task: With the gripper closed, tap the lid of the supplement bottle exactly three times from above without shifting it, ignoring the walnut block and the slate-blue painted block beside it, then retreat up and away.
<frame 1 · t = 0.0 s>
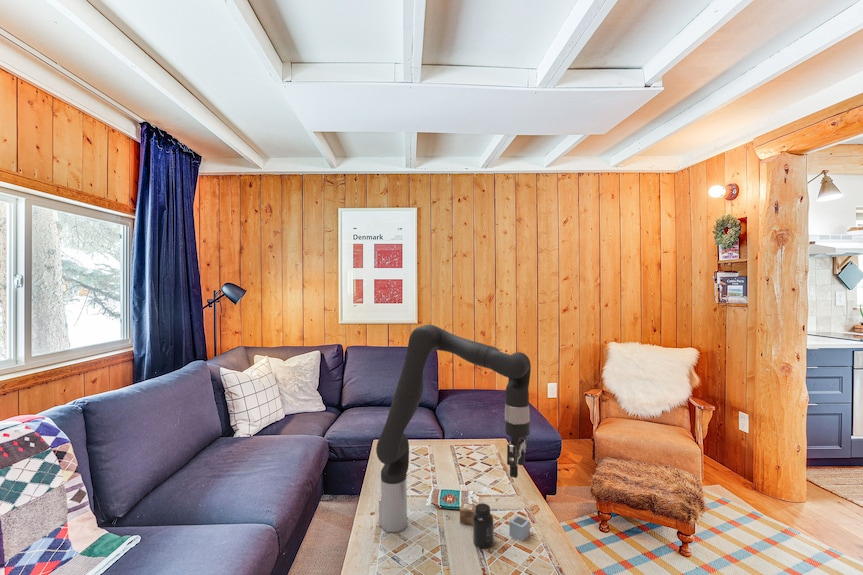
hand: (517, 470, 123), 29 cm above the table, fingers open, 8 cm apart
slate-blue block: (519, 535, 137), on the table
walnut block: (468, 520, 146), on the table
supplement bottle: (483, 542, 134), on the table
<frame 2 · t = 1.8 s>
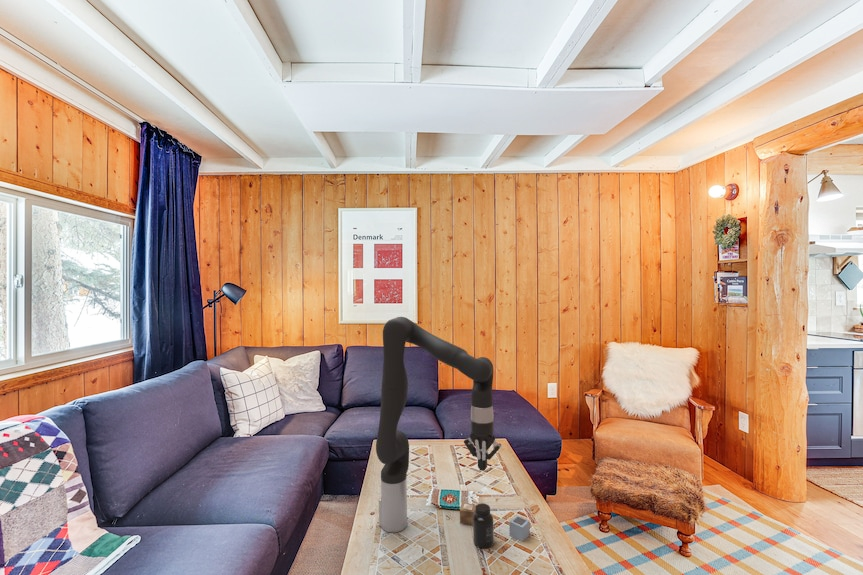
hand: (482, 469, 133), 25 cm above the table, fingers closed
nothing on the table moved.
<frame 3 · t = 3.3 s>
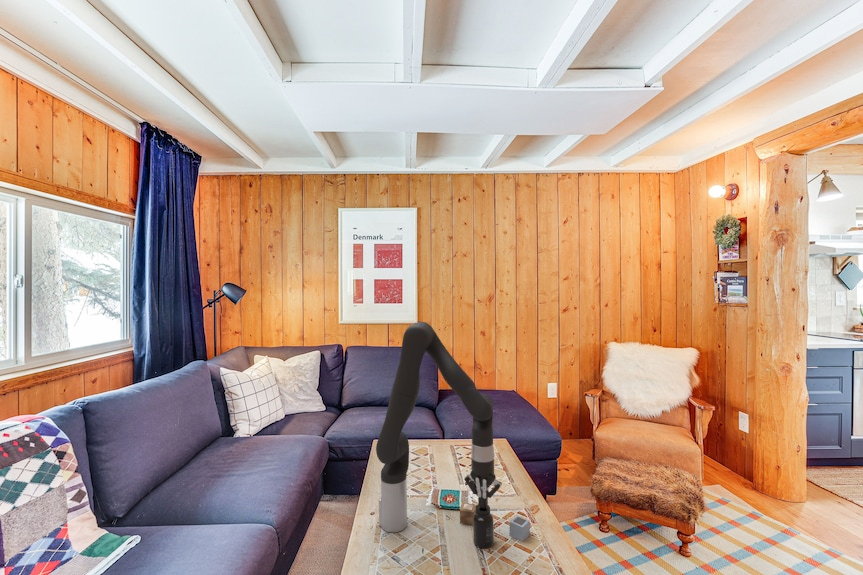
hand: (483, 507, 133), 12 cm above the table, fingers closed
supplement bottle: (483, 542, 134), on the table, touching gripper
everything else where it was.
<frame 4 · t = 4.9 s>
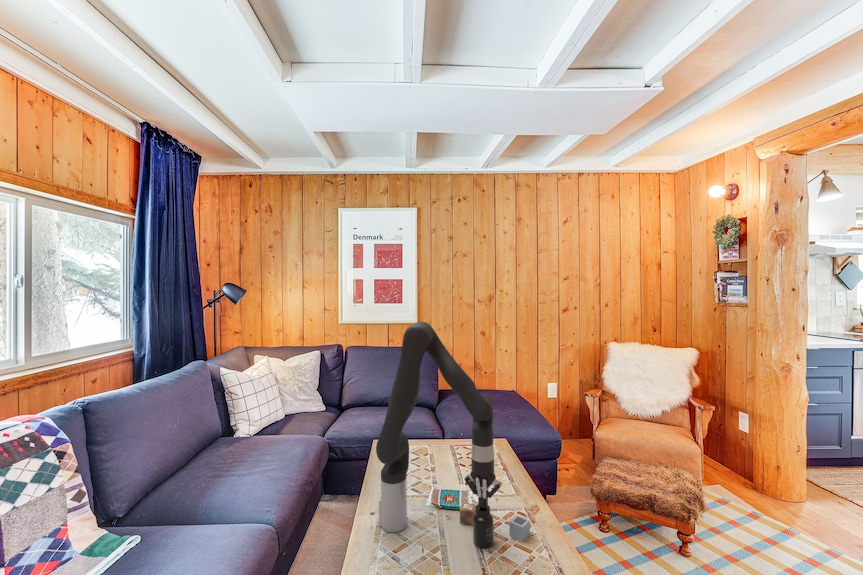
hand: (483, 507, 133), 12 cm above the table, fingers closed
nothing on the table moved.
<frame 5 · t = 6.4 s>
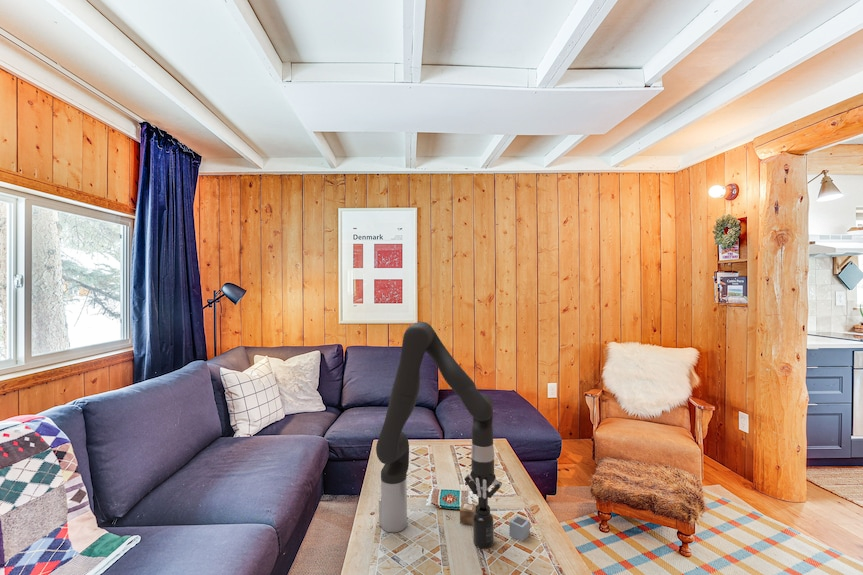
hand: (483, 507, 133), 12 cm above the table, fingers closed
nothing on the table moved.
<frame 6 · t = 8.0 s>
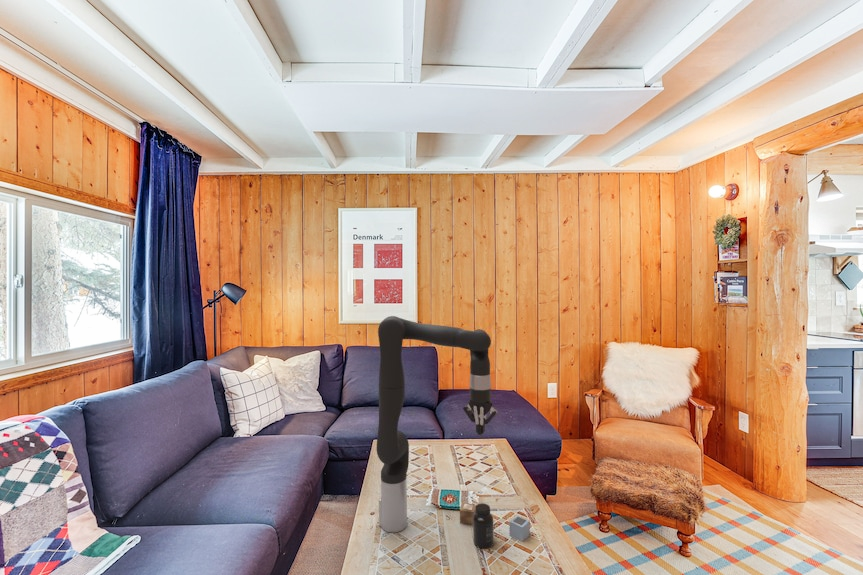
hand: (480, 434, 142), 33 cm above the table, fingers closed
supplement bottle: (483, 542, 134), on the table
everything else where it was.
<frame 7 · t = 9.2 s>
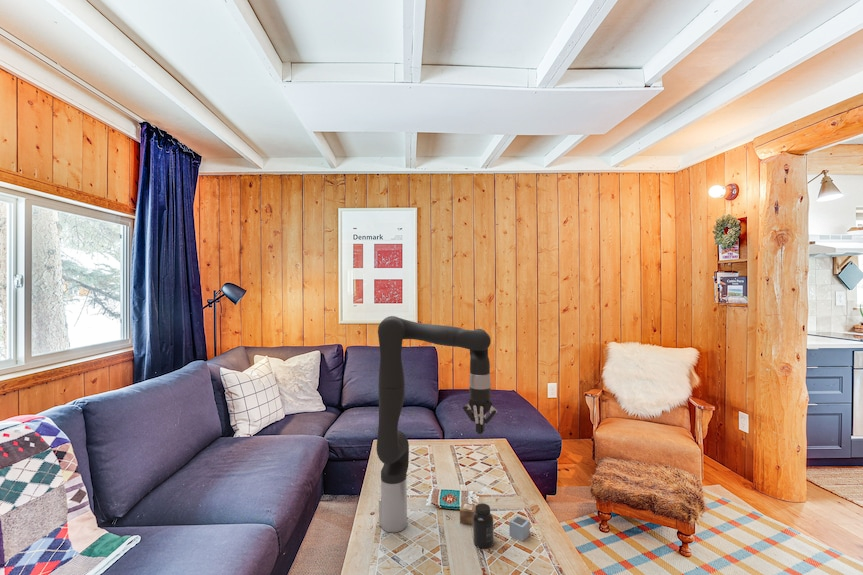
hand: (480, 433, 143), 33 cm above the table, fingers closed
nothing on the table moved.
at the end: supplement bottle moved 0.2 cm from its start; supplement bottle tilted 0°; walnut block moved 0.1 cm from its start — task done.
